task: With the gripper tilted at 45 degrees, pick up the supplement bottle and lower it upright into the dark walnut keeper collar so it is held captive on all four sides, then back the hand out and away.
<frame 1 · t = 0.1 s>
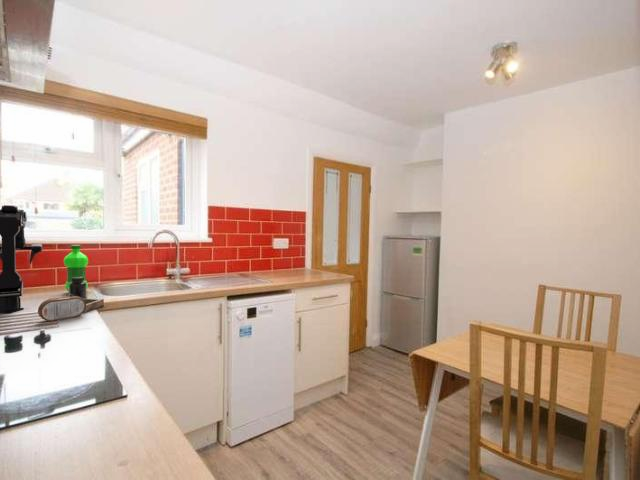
hand: (18, 264, 165), 15 cm above the worktop, tool pointing down, fingers open, 9 cm apart
plastic bottle: (76, 293, 175), on the worktop
supplement bottle: (77, 303, 155), on the worktop
keeper collar: (80, 308, 145), on the worktop
tin: (63, 319, 131), on the worktop
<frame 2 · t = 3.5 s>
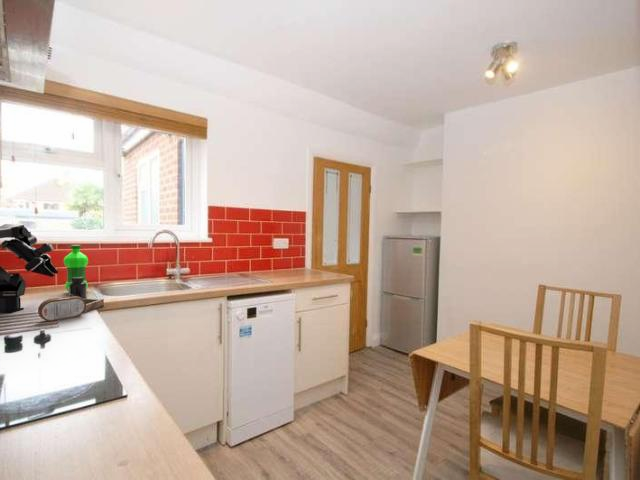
hand: (55, 274, 150), 14 cm above the worktop, tool tilted 45°, fingers open, 9 cm apart
nothing on the worktop moved.
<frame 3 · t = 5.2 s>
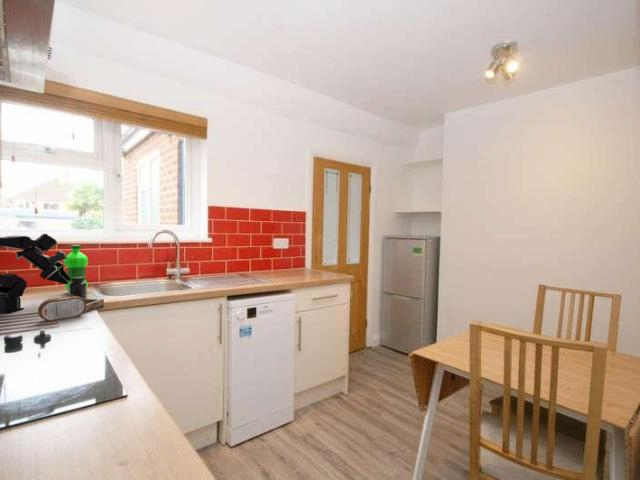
hand: (69, 281, 153), 10 cm above the worktop, tool tilted 45°, fingers open, 9 cm apart
nothing on the worktop moved.
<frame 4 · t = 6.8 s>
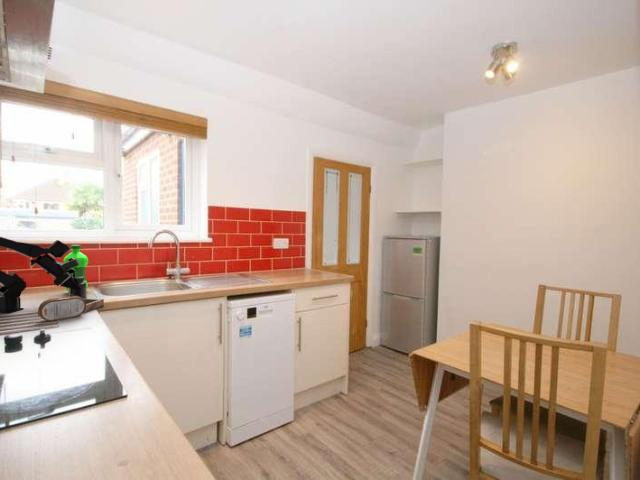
hand: (81, 288, 155), 7 cm above the worktop, tool tilted 45°, fingers closed on supplement bottle, 7 cm apart
supplement bottle: (77, 302, 155), on the worktop, touching gripper
everything else where it was.
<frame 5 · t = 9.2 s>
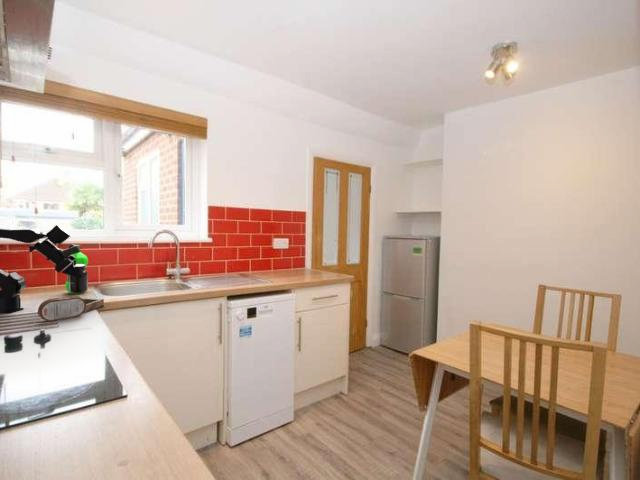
hand: (82, 275, 150), 13 cm above the worktop, tool tilted 45°, fingers closed on supplement bottle, 7 cm apart
supplement bottle: (78, 291, 151), point 6 cm above the worktop, touching gripper
everything else where it was.
when the fingers open (8 cm above the worktop, at t = 11.9 s): supplement bottle stays where it is, resting on keeper collar.
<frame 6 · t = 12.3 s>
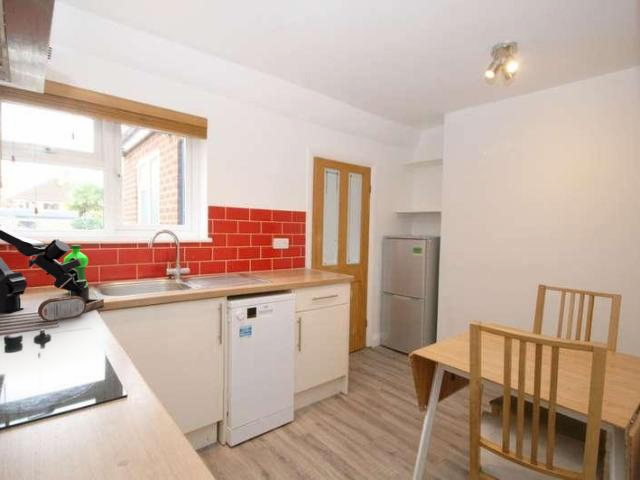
hand: (83, 290, 145), 8 cm above the worktop, tool tilted 45°, fingers open, 9 cm apart
supplement bottle: (79, 307, 145), resting on keeper collar
everything else where it was.
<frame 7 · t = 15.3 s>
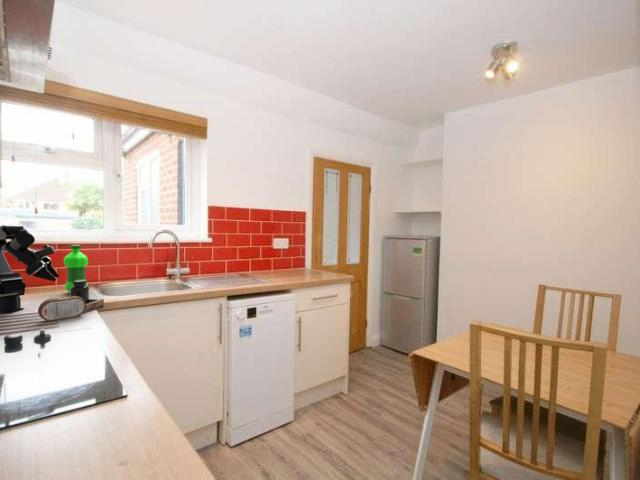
hand: (57, 278, 141), 14 cm above the worktop, tool tilted 45°, fingers open, 9 cm apart
nothing on the worktop moved.
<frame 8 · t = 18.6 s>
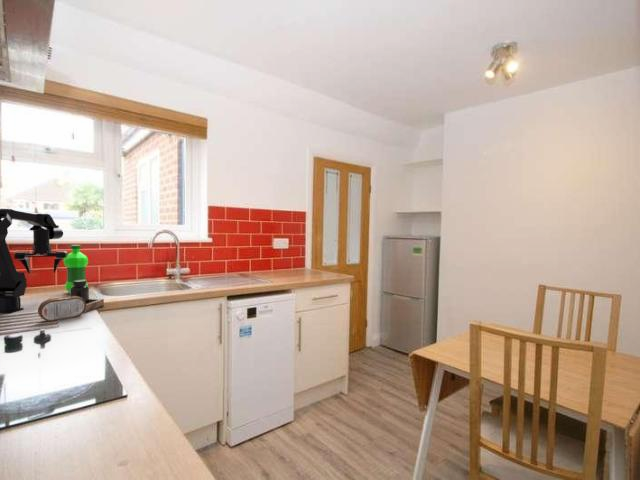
hand: (42, 273, 156), 13 cm above the worktop, tool pointing down, fingers open, 9 cm apart
nothing on the worktop moved.
at the end: supplement bottle 0.9 cm off-centre on the keeper collar, point 0.2 cm above the keeper collar's base; supplement bottle tilted 0°; the gripper is holding nothing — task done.
